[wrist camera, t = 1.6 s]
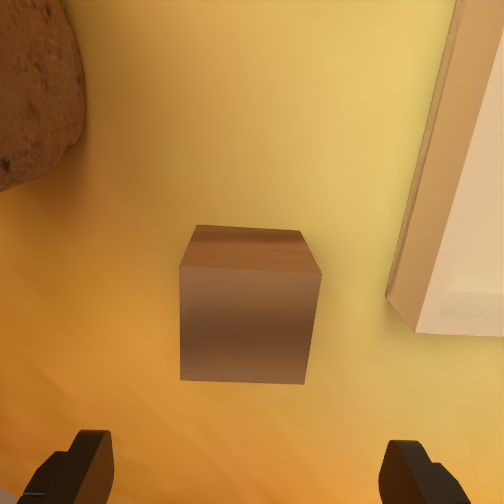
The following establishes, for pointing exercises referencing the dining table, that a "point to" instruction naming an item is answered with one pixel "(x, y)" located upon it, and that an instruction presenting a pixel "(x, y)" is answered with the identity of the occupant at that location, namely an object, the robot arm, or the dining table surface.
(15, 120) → the block
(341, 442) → the dining table surface
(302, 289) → the cube
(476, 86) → the tray
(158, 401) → the dining table surface
